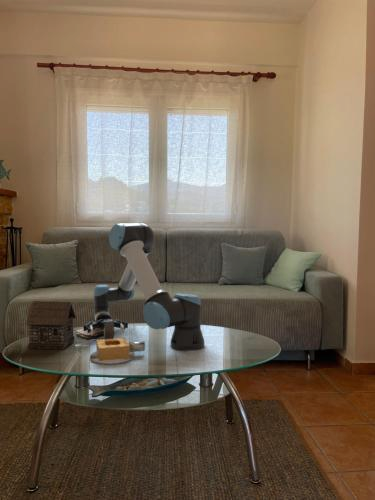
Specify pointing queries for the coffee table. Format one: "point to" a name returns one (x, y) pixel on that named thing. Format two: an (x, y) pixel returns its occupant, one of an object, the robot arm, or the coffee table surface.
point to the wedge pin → (109, 329)
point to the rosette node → (115, 351)
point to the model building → (50, 325)
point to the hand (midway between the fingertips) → (107, 331)
